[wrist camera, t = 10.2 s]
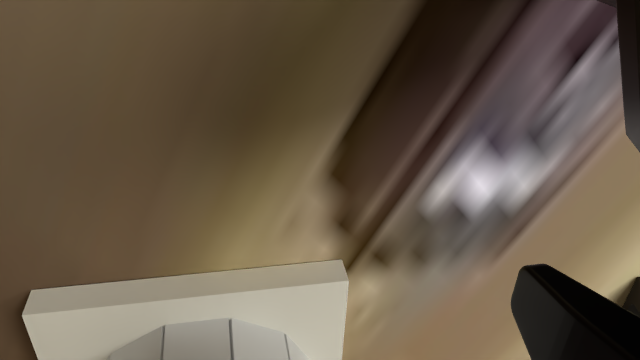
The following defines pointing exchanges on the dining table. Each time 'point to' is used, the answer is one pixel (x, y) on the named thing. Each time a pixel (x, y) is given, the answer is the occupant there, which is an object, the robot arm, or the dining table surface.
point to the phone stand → (633, 299)
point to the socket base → (196, 316)
